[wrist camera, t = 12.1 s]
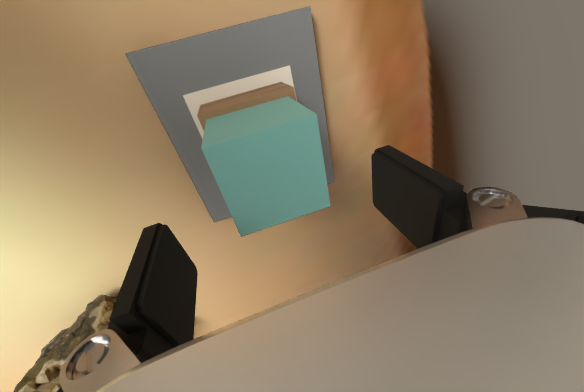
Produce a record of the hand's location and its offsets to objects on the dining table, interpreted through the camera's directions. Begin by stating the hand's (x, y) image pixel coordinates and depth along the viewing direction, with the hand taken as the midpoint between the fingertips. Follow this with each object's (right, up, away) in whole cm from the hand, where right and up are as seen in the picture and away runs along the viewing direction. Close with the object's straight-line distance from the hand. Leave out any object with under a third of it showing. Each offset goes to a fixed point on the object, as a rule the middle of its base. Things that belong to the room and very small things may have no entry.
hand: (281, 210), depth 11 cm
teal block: (-2, +4, +8) cm, 9 cm away
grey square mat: (-3, +7, +12) cm, 14 cm away
